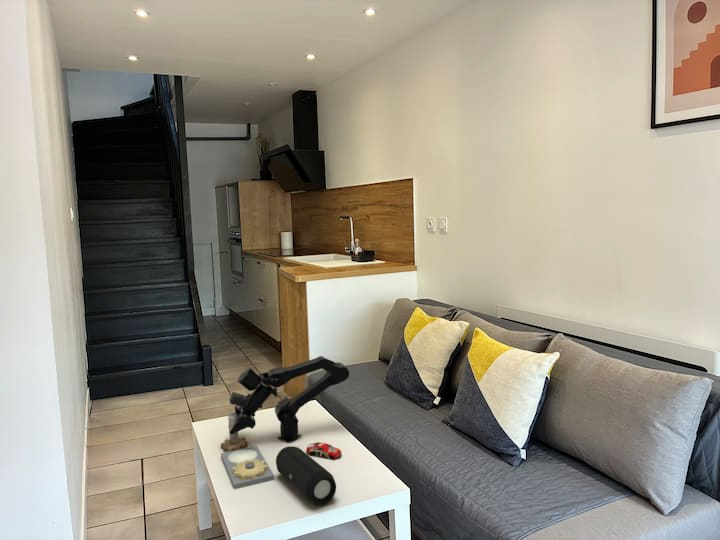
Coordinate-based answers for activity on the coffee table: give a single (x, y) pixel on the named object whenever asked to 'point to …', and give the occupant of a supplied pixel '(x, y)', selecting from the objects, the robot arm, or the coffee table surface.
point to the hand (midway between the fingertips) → (229, 430)
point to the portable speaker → (306, 475)
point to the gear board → (248, 481)
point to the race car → (323, 450)
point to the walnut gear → (233, 437)
